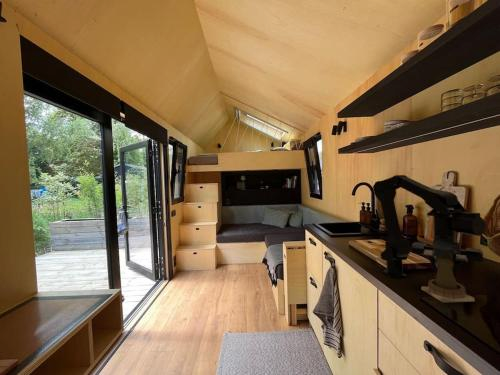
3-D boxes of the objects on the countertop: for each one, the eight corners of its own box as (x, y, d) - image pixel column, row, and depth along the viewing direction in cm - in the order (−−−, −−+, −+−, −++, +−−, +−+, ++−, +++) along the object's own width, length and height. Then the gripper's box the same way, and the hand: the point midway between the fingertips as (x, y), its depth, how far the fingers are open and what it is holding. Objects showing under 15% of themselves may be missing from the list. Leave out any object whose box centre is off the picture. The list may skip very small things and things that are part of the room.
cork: (430, 285, 87) (429, 253, 87) (446, 284, 87) (445, 252, 87) (445, 292, 81) (444, 259, 81) (462, 291, 81) (461, 257, 81)
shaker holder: (421, 289, 89) (421, 279, 89) (449, 288, 89) (449, 278, 89) (442, 302, 79) (442, 291, 79) (474, 301, 79) (474, 290, 79)
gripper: (407, 231, 84) (408, 277, 85) (482, 238, 72) (483, 292, 72) (413, 226, 93) (414, 268, 93) (482, 231, 80) (483, 280, 80)
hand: (445, 276), depth 84 cm, fingers closed on cork, 4 cm apart
